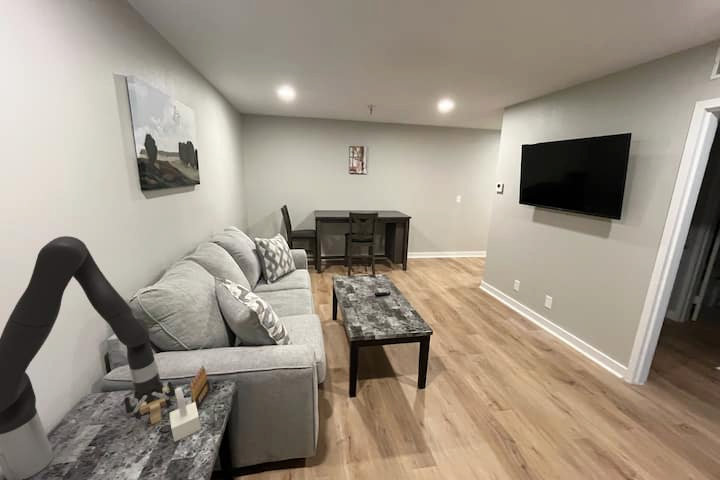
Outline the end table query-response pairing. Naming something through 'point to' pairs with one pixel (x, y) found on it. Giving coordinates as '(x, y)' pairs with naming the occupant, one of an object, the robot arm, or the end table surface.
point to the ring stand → (184, 418)
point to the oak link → (154, 408)
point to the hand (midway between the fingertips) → (154, 412)
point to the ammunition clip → (199, 387)
